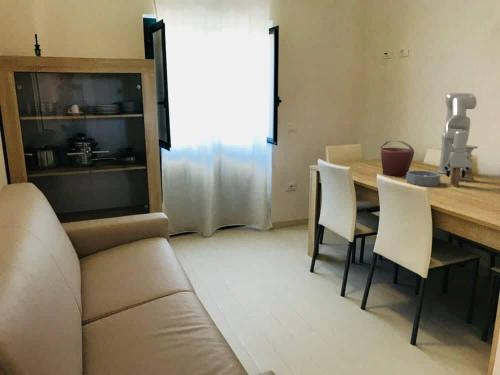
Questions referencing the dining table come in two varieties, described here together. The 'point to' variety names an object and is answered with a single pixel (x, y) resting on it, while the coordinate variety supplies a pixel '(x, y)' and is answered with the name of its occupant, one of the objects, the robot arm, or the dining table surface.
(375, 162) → the dining table surface
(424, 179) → the grey bowl
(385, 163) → the bucket
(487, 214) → the dining table surface
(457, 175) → the brown rectangular block
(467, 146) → the candle holder
